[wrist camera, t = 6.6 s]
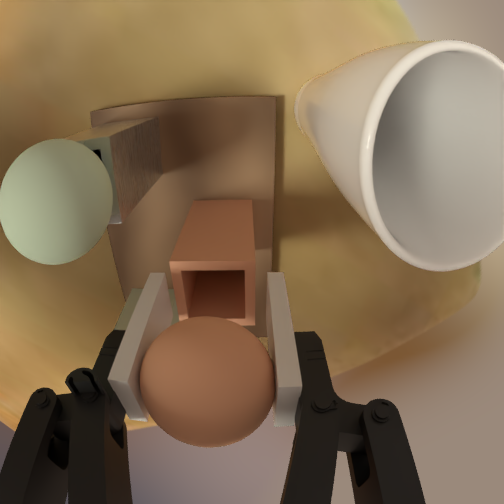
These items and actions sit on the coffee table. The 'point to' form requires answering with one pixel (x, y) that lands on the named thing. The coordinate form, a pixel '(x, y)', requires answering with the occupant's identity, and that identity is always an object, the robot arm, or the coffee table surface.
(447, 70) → the drinking glass
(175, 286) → the terracotta tube
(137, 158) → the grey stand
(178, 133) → the board
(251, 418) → the terracotta ball
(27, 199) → the sage ball
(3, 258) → the coffee table surface
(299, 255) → the coffee table surface
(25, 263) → the coffee table surface
